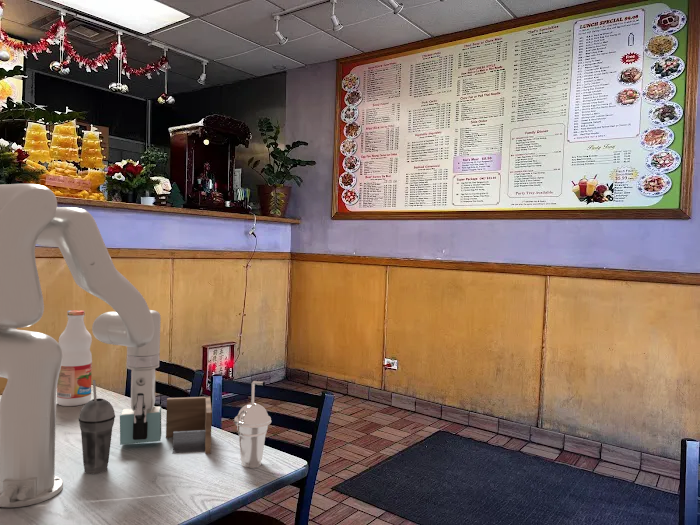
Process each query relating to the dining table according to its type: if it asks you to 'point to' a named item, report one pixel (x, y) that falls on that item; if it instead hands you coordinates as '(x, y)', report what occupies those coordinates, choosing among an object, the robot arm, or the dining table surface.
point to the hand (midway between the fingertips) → (141, 434)
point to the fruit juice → (75, 362)
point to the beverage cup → (96, 433)
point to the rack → (189, 417)
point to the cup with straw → (252, 431)
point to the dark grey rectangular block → (188, 441)
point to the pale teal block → (152, 428)
